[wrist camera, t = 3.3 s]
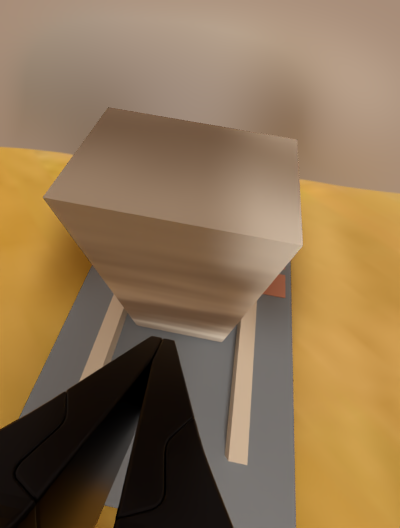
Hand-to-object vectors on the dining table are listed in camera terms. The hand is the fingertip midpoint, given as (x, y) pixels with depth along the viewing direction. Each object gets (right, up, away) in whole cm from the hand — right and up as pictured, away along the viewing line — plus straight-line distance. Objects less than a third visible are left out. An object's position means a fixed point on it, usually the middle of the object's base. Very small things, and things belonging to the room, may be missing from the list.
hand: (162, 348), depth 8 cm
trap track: (0, 0, +9) cm, 9 cm away
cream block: (0, 0, +9) cm, 9 cm away
